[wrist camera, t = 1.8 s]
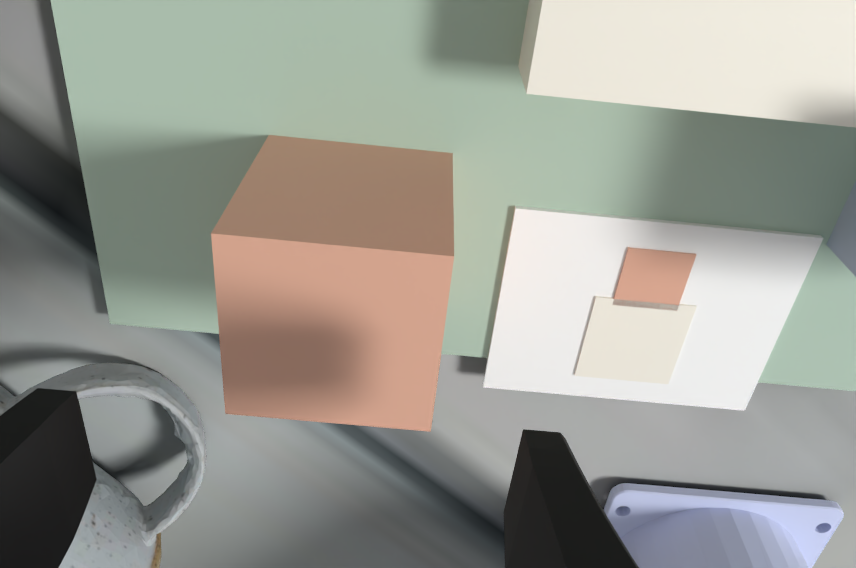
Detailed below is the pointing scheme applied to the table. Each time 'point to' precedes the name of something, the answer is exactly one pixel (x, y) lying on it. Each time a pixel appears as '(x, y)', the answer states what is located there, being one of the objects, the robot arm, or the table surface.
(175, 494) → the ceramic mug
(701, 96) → the cream base brick
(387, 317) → the terracotta brick
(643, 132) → the build plate
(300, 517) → the table surface
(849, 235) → the slate-blue brick
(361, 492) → the table surface
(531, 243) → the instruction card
